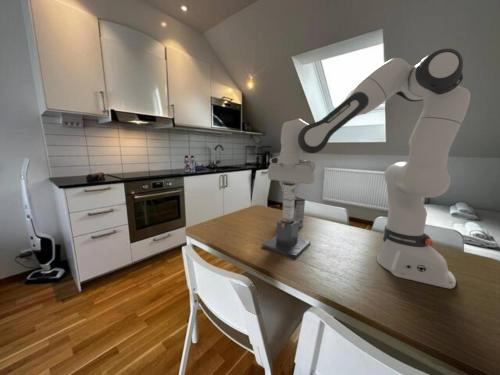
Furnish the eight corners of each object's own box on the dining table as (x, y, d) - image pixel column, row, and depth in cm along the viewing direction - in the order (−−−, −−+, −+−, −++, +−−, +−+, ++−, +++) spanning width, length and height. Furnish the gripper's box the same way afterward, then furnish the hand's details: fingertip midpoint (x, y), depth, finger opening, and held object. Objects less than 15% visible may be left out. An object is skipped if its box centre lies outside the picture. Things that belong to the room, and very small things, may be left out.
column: (293, 232, 92) (296, 182, 88) (289, 235, 89) (291, 184, 85) (285, 230, 94) (287, 181, 90) (281, 233, 91) (283, 183, 87)
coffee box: (285, 222, 122) (286, 196, 119) (293, 221, 125) (295, 195, 122) (294, 228, 114) (295, 200, 111) (303, 226, 116) (305, 199, 114)
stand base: (310, 244, 94) (312, 220, 92) (295, 258, 82) (297, 230, 79) (279, 235, 104) (280, 213, 102) (262, 247, 91) (262, 221, 89)
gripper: (317, 160, 82) (315, 194, 84) (273, 158, 94) (272, 188, 97) (312, 160, 77) (309, 196, 80) (266, 159, 89) (265, 190, 92)
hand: (289, 192), depth 88 cm, fingers closed on column, 4 cm apart
